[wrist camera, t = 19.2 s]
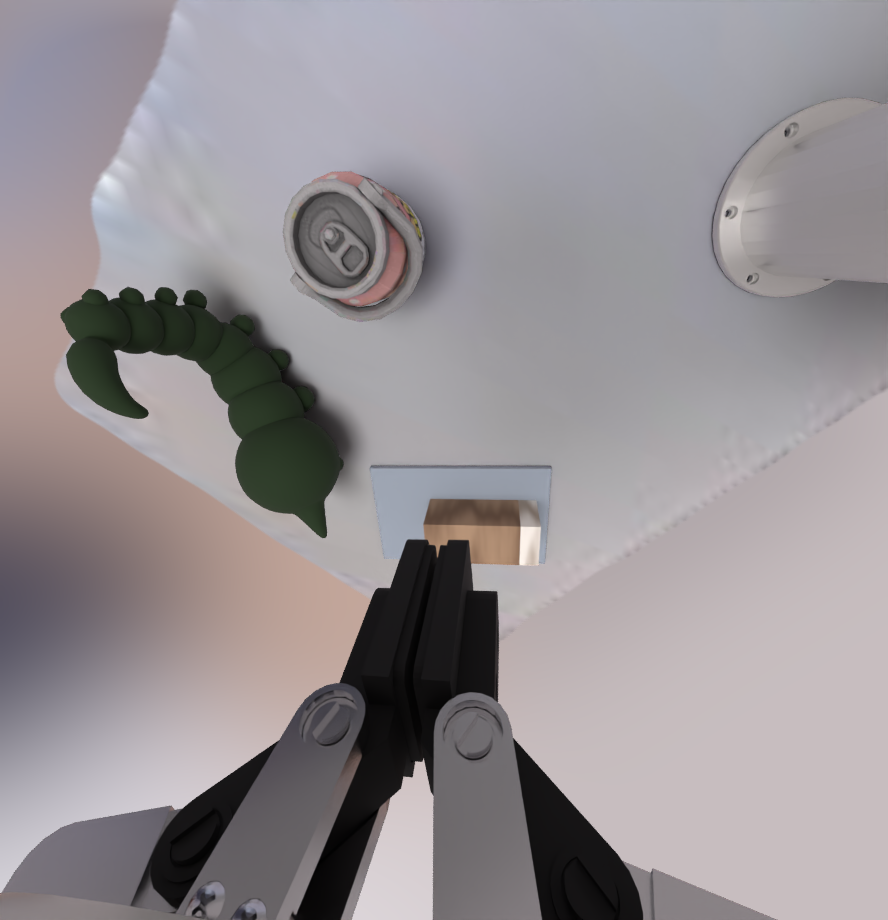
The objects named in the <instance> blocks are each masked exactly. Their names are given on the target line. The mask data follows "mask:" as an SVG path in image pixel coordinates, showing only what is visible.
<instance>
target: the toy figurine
mask: <svg viewBox="0 0 888 920" xmlns="http://www.w3.org/2000/svg"><path fill="white" fill-rule="evenodd" d="M119 297H120V298H114V299H112V300H110V301H108V299H107V297H106V295H105V294H103V293H102V292H101V291H99V290H94V289H88V290H87V291H86V292H85V293H84V294H83V295H82V300H79V301H77V302H75V303H73V304H71V305H70V307H67V308H66V309H65V310H64V311H63V312H62V313H61V319H62V321H63V322H64V323H65V326H66V329H67V331H68V333H69V334H70V335H71V337H72V338H73V339H74V340H75V341H76V342H75V343H73V344H72V346H71V347H70V349H69V351H68V352H67V354H66V358H67V365H68V369H69V371H70V373H71V375H72V378H73V380H74V382H75V383H76V384H77V385H78V387H79V388H80V389H81V390H82V392H83V393H84V394H85V395H87V396H88V397H89V398H90V399H91V400H93V401H94V402H95V403H96V404H98V405H100V406H102V407H103V408H105V409H107V410H109V411H111V412H114V413H116V414H119V415H122V416H126V417H130V418H136V419H142V418H145V417H147V416H148V414H149V413H148V410H147V409H146V408H144V407H143V406H141V405H140V404H138V403H137V402H136V401H135V400H134V399H133V398H132V397H131V396H130V394H129V393H128V391H127V390H126V388H125V386H124V384H123V383H122V381H121V378H120V375H119V372H118V363H117V358H116V355H115V353H114V351H115V350H120V351H123V352H126V353H132V354H143V353H146V352H149V351H152V352H153V353H157V354H160V355H166V356H167V355H178V356H180V357H182V358H184V359H188V360H192V361H196V362H197V364H198V365H199V366H200V367H201V368H202V369H203V370H204V371H205V372H207V373H208V374H210V375H211V381H212V384H213V388H214V389H215V391H216V393H217V394H218V396H219V397H220V398H221V399H222V400H223V401H224V402H225V403H227V404H228V405H229V406H228V417H229V422H230V424H231V426H232V428H233V430H234V431H235V433H236V434H237V435H238V436H239V437H240V438H241V439H242V441H241V443H240V445H239V447H238V450H237V454H236V460H235V466H236V473H237V478H238V480H239V483H240V485H241V487H242V489H243V491H244V492H245V493H246V495H247V496H248V497H249V498H250V499H251V500H253V501H254V502H255V503H257V504H258V505H260V506H262V507H263V508H266V509H268V510H270V511H274V512H278V513H286V514H295V515H296V516H298V517H299V518H300V519H301V520H302V521H303V522H304V523H306V524H307V525H308V526H309V527H310V528H311V529H312V530H313V531H314V532H315V533H316V534H317V535H319V536H320V537H321V538H325V537H326V536H327V527H326V517H325V508H324V501H325V498H326V497H327V496H328V495H329V493H330V492H331V490H332V489H333V487H334V485H335V483H336V480H337V478H338V475H339V471H340V470H341V469H342V468H343V465H344V463H343V460H342V459H341V458H340V457H339V453H338V451H337V448H336V446H335V444H334V442H333V441H332V439H331V438H330V436H329V435H328V434H327V433H326V432H325V431H324V430H323V429H322V428H321V427H320V426H318V425H317V424H315V423H313V422H312V421H310V420H307V419H305V418H304V412H306V411H307V410H309V409H310V408H311V407H312V406H313V404H314V402H315V399H314V395H313V393H312V392H311V391H310V390H309V389H308V388H306V387H302V386H298V387H296V388H294V389H292V388H290V387H289V386H288V385H286V384H284V383H282V380H281V373H280V371H279V370H283V369H286V368H287V366H288V363H289V359H288V357H287V354H286V353H284V352H283V351H281V350H272V351H271V352H269V353H268V354H267V353H265V352H264V351H263V350H261V349H259V348H256V347H254V346H253V344H252V342H251V340H250V339H249V336H250V335H251V334H252V333H253V332H254V330H255V325H254V323H253V320H251V319H250V318H249V317H248V316H246V315H237V316H236V317H235V318H233V319H232V320H231V321H230V324H228V323H220V322H219V321H218V319H217V318H216V317H215V316H214V315H212V314H211V313H210V312H208V311H207V310H205V308H206V305H207V300H206V297H205V296H204V295H203V293H201V292H199V291H198V290H189V291H187V292H186V294H185V295H184V298H183V301H184V303H185V305H181V306H177V305H175V304H176V302H177V298H178V297H177V295H176V294H175V292H174V291H173V290H172V289H170V288H166V287H160V288H159V289H158V290H157V291H156V293H155V299H156V300H149V301H147V302H145V300H144V296H143V294H142V293H141V292H139V291H138V290H137V289H134V288H130V287H127V288H125V289H123V290H122V291H121V292H120V293H119Z"/></svg>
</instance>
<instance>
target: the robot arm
mask: <svg viewBox="0 0 888 920" xmlns="http://www.w3.org/2000/svg"><path fill="white" fill-rule="evenodd" d="M785 130H786V131H787V134H786V136H785V135H784V132H785ZM726 210H728V212H729V214H728V216H727V217H725V212H726ZM712 237H713V246H714V252H715V255H716V258H717V261H718V264H719V266H720V268H721V269H722V271H723V272H724V274H725V275H726V277H727V278H728V279H730V280H731V281H732V282H733V283H734V284H735V285H736V286H738V287H740V288H742V289H743V290H745V291H747V292H750V293H754V294H758V295H761V296H770V297H792V296H796V295H801V294H805V293H809V292H812V291H814V290H817V289H819V288H822V287H825V286H827V285H829V284H830V283H832V282H834V281H836V280H848V281H863V282H878V283H888V103H885V104H883V105H882V104H881V103H879V102H875V101H871V100H867V99H864V98H840V99H835V100H830V101H825V102H822V103H819V104H817V105H814V106H812V107H809V108H807V109H804V110H802V111H800V112H798V113H796V114H794V115H792V116H790V117H788V118H787V119H785V120H783V121H782V122H781V123H779V124H778V125H776V126H775V127H773V128H772V129H771V130H769V131H768V132H767V133H765V134H764V135H763V136H762V137H761V138H760V139H759V140H758V141H757V142H756V143H755V144H754V145H753V146H752V147H751V148H750V149H749V150H748V151H747V153H746V154H745V155H744V156H743V158H742V159H741V160H740V161H739V163H738V164H737V165H736V167H735V168H734V170H733V172H732V173H731V175H730V177H729V178H728V180H727V182H726V184H725V186H724V188H723V191H722V193H721V195H720V198H719V200H718V204H717V208H716V212H715V215H714V221H713V234H712ZM748 276H750V278H749V280H748V281H747V278H748ZM498 656H499V620H498V595H497V591H473V582H472V569H471V557H470V545H469V540H448V542H447V545H441V546H440V549H439V553H438V558H437V551H436V546H435V545H429V542H428V540H427V539H408V540H407V541H406V543H405V546H404V549H403V552H402V555H401V558H400V561H399V564H398V567H397V570H396V573H395V576H394V578H393V581H392V584H391V587H390V588H377V589H376V590H375V592H374V594H373V597H372V599H371V602H370V604H369V607H368V610H367V612H366V615H365V618H364V620H363V623H362V626H361V628H360V631H359V633H358V636H357V638H356V642H355V644H354V646H353V649H352V652H351V654H350V657H349V660H348V662H347V665H346V667H345V670H344V672H343V675H342V678H341V680H340V683H335V684H330V685H326V686H324V687H322V688H320V689H318V690H316V691H315V692H313V693H312V694H311V695H310V696H309V697H307V698H306V699H305V700H304V702H303V703H302V704H301V706H300V707H299V708H298V710H297V711H296V713H295V715H294V716H293V718H292V720H291V721H290V723H289V725H288V727H287V728H286V730H285V731H284V733H283V735H282V736H281V738H280V740H279V741H277V742H276V743H274V744H273V745H272V746H270V747H269V748H267V749H266V750H264V751H263V752H261V753H260V754H258V755H257V756H256V757H254V758H253V759H251V760H250V761H249V762H247V763H246V764H244V765H243V766H241V767H240V768H238V769H237V770H235V771H234V772H233V773H231V774H230V775H228V776H227V777H225V778H224V779H223V780H221V781H220V782H218V783H217V784H215V785H214V786H212V787H211V788H210V789H208V790H207V791H205V792H204V793H202V794H201V795H199V796H198V797H196V798H195V799H194V800H192V801H191V802H190V803H189V804H188V805H186V806H185V807H184V808H183V809H177V810H174V808H173V807H172V806H166V807H160V808H155V809H149V810H143V811H138V812H132V813H127V814H121V815H115V816H109V817H104V818H98V819H92V820H87V821H81V822H75V823H73V824H70V825H67V826H64V827H62V828H60V829H58V830H57V831H55V832H54V833H52V834H51V835H50V836H48V837H46V838H45V839H44V840H43V841H41V842H40V844H38V845H37V846H36V847H35V848H34V849H33V850H32V851H31V852H30V853H29V854H28V855H27V856H26V858H25V859H24V860H23V862H22V863H21V865H20V866H19V867H18V868H17V870H16V871H15V872H14V874H13V875H12V877H11V879H10V880H9V882H8V884H7V885H6V887H5V888H4V890H3V892H2V893H0V920H352V917H353V913H354V910H355V908H356V905H357V902H358V899H359V895H360V893H361V890H362V887H363V884H364V881H365V877H366V874H367V871H368V868H369V865H370V862H371V859H372V856H373V853H374V850H375V847H376V844H377V841H378V838H379V835H380V832H381V829H382V826H383V823H384V820H385V817H386V814H387V811H388V806H389V801H390V798H391V797H392V796H393V795H394V794H395V793H396V792H397V791H398V790H399V789H401V786H402V780H403V776H405V777H413V771H414V765H415V761H418V762H422V761H423V758H424V761H425V766H426V770H427V776H428V780H429V785H430V790H431V793H432V794H433V796H434V806H433V810H434V811H433V814H434V815H433V816H434V818H433V821H434V822H433V920H776V919H774V918H771V917H769V916H767V915H764V914H762V913H759V912H757V911H754V910H752V909H750V908H747V907H745V906H742V905H740V904H738V903H735V902H733V901H730V900H728V899H726V898H723V897H721V896H718V895H716V894H713V893H711V892H708V891H706V890H704V889H701V888H699V887H696V886H694V885H691V884H689V883H687V882H684V881H682V880H680V879H677V878H675V877H672V876H670V875H667V874H665V873H663V872H660V871H657V870H655V869H652V872H651V873H650V872H648V871H645V870H643V869H640V868H638V867H636V866H633V865H630V864H628V863H626V862H624V861H622V860H621V859H620V857H619V856H618V854H617V853H616V852H615V851H614V850H613V849H612V848H611V847H610V846H609V844H608V843H607V842H606V841H605V840H604V839H603V838H602V837H601V835H600V834H599V833H598V832H597V831H596V830H595V829H594V828H593V826H592V825H591V824H590V823H589V822H588V821H587V820H586V819H585V818H584V816H583V815H582V814H581V813H580V812H579V811H578V810H577V809H576V807H575V806H574V805H573V804H572V803H571V802H570V801H569V800H568V799H567V798H566V796H565V795H564V794H563V793H562V792H561V791H560V790H559V789H558V787H557V786H556V785H555V784H554V783H553V782H552V781H551V780H550V778H549V777H548V776H547V775H546V774H545V773H544V772H543V771H542V770H541V768H540V767H539V766H538V765H537V764H536V763H535V762H534V761H533V760H532V758H531V757H530V756H529V755H528V754H527V753H526V752H525V751H524V749H523V748H522V747H521V746H520V745H519V744H518V743H517V742H516V741H515V739H514V738H513V736H512V729H511V725H510V722H509V718H508V715H507V714H506V712H505V711H504V709H503V708H502V706H501V705H500V704H499V703H498V659H499V658H498Z"/></svg>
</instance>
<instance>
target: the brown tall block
mask: <svg viewBox="0 0 888 920" xmlns="http://www.w3.org/2000/svg"><path fill="white" fill-rule="evenodd" d="M423 527H424V538H425V539H427V540H428V542H429V545H435V546H436V551H437V558H438V553H439V549H440V546H441V545H447V542H448V540H469V545H470V557H471V563H474V564H503V565H533V566H539V550H540V534H541V525H540V519H539V513H538V507H537V501H536V500H478V499H430V501H429V505H428V509H427V512H426V516H425V520H424V523H423Z"/></svg>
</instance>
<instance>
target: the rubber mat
mask: <svg viewBox="0 0 888 920" xmlns="http://www.w3.org/2000/svg"><path fill="white" fill-rule="evenodd" d="M370 473H371V479H372V485H373V491H374V498H375V504H376V510H377V517H378V523H379V529H380V535H381V542H382V548H383V554H384V559H400V558H401V555H402V552H403V549H404V546H405V543H406V541H407V540H408V539H425V538H424V527H423V523H424V520H425V516H426V512H427V509H428V505H429V501H430V499H478V500H536V501H537V507H538V513H539V519H540V525H541V534H540V550H539V563H541V564H545V553H546V539H547V524H548V510H549V496H550V481H551V466H371V467H370Z"/></svg>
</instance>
